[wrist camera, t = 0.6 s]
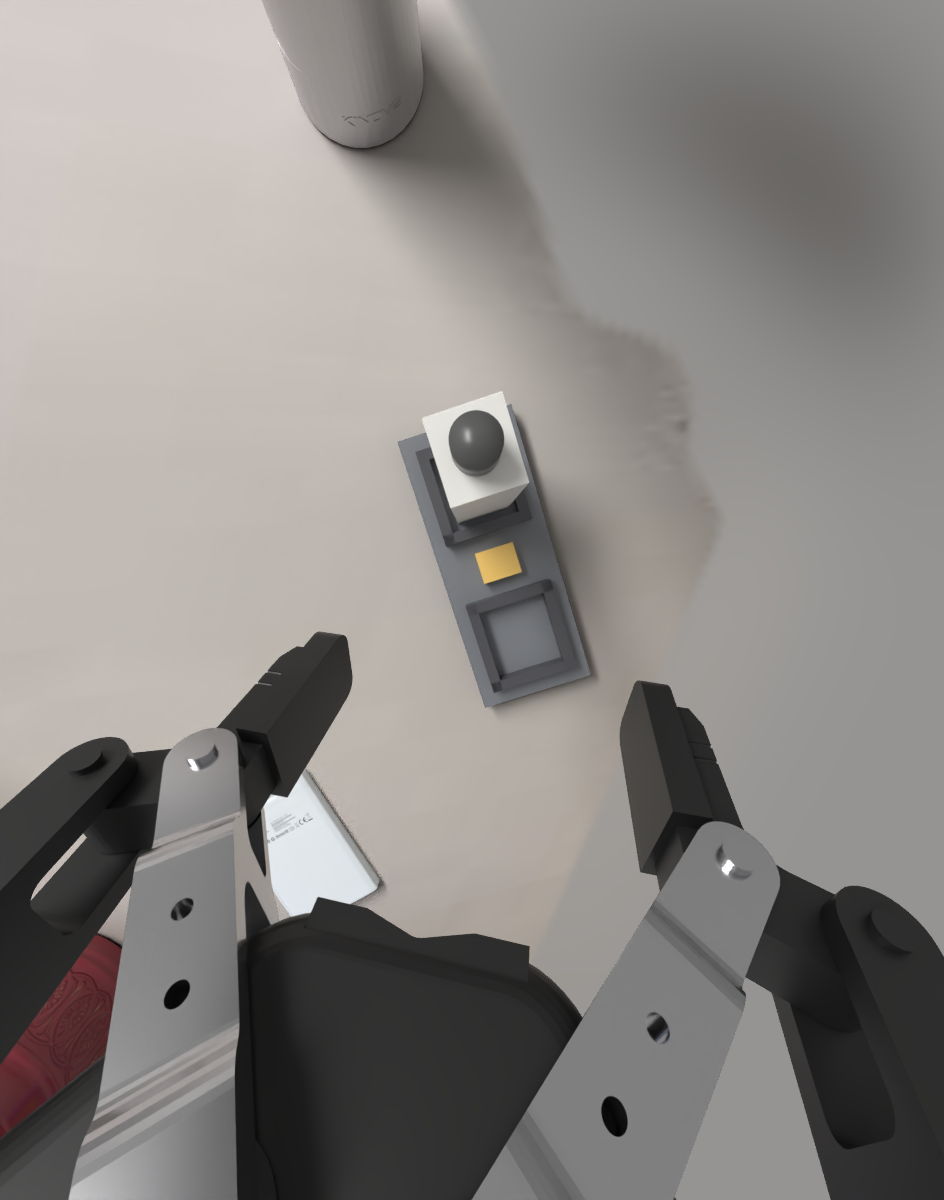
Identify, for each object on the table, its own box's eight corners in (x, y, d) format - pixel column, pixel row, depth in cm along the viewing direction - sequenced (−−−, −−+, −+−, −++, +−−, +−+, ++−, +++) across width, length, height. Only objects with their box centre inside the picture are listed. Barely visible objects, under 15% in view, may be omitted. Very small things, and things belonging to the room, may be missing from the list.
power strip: (400, 447, 33) (394, 437, 30) (509, 410, 32) (512, 398, 30) (484, 701, 35) (485, 713, 33) (585, 669, 35) (595, 679, 32)
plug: (440, 468, 31) (416, 403, 17) (490, 451, 31) (505, 372, 17) (458, 523, 32) (448, 503, 18) (507, 507, 32) (535, 474, 18)
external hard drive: (306, 915, 38) (230, 808, 37) (381, 875, 38) (307, 765, 36) (299, 932, 37) (219, 820, 35) (377, 890, 36) (299, 775, 35)
